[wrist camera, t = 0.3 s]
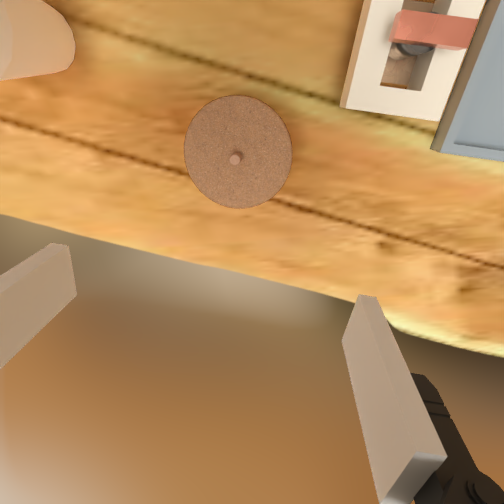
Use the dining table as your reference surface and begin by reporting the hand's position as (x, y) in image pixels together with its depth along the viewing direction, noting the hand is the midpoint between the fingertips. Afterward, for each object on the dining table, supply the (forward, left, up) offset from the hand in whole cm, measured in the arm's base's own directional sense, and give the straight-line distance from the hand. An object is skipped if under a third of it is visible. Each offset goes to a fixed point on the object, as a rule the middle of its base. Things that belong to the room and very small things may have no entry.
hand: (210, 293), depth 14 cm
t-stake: (-13, +11, -27) cm, 32 cm away
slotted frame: (-13, +11, -22) cm, 28 cm away
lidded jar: (-2, -2, -27) cm, 27 cm away
